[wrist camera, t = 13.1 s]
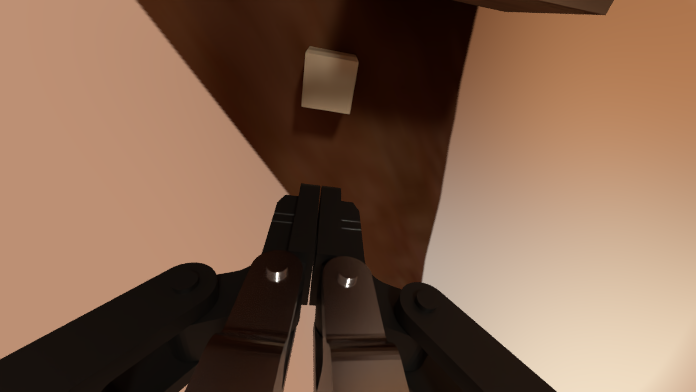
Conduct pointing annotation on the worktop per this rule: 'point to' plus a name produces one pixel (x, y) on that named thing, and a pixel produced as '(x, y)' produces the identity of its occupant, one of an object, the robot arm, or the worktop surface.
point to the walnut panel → (546, 6)
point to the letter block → (329, 80)
